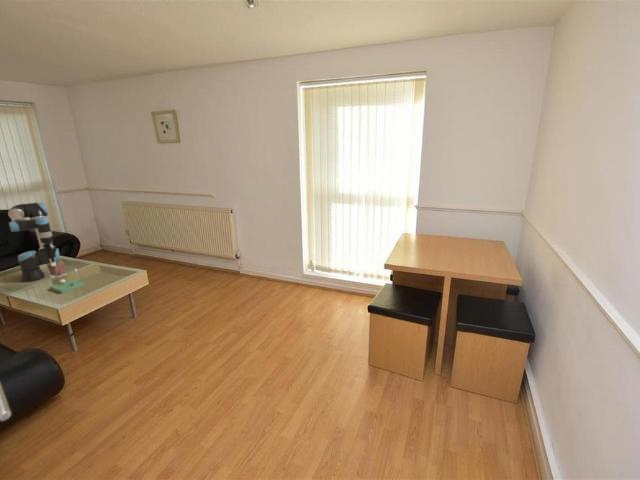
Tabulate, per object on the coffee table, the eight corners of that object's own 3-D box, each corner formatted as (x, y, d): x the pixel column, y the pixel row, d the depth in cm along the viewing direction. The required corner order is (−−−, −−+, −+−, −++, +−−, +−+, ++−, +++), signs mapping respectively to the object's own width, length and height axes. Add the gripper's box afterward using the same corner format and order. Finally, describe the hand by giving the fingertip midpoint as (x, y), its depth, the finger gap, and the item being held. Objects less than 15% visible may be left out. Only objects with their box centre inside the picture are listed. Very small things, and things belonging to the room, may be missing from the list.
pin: (78, 282, 250) (74, 266, 246) (79, 282, 250) (75, 265, 246) (80, 283, 248) (76, 266, 244) (81, 282, 249) (77, 266, 245)
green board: (50, 289, 244) (49, 286, 243) (73, 282, 257) (72, 279, 257) (62, 293, 236) (61, 290, 235) (85, 285, 249) (84, 282, 249)
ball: (59, 283, 248) (58, 279, 247) (64, 282, 251) (63, 278, 250) (61, 284, 246) (60, 280, 245) (66, 282, 249) (65, 278, 248)
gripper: (36, 237, 242) (43, 265, 248) (44, 239, 236) (52, 268, 242) (47, 235, 248) (54, 263, 255) (56, 236, 242) (63, 265, 249)
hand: (53, 265), depth 248 cm, fingers closed
